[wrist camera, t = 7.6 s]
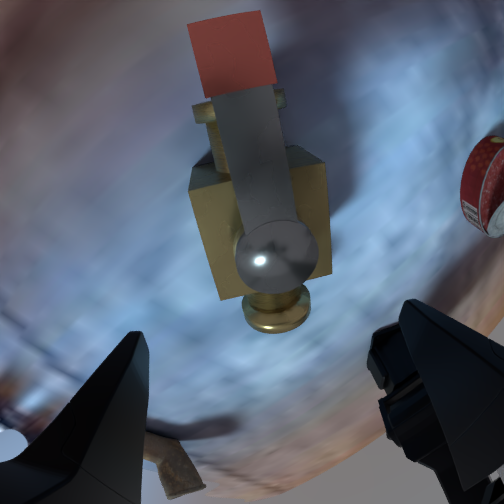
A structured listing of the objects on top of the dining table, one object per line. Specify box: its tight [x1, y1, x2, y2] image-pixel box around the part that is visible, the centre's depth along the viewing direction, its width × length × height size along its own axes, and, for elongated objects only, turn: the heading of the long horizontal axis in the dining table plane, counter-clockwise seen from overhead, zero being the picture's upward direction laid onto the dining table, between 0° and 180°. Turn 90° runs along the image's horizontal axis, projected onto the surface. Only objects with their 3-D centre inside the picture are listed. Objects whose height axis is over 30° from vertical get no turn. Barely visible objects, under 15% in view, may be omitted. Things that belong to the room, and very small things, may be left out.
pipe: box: [143, 431, 206, 500], centre depth 30 cm, size 6×17×10 cm, turn 49°
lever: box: [187, 10, 319, 294], centre depth 13 cm, size 13×4×2 cm, turn 12°
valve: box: [188, 88, 332, 334], centre depth 18 cm, size 7×15×6 cm, turn 10°
